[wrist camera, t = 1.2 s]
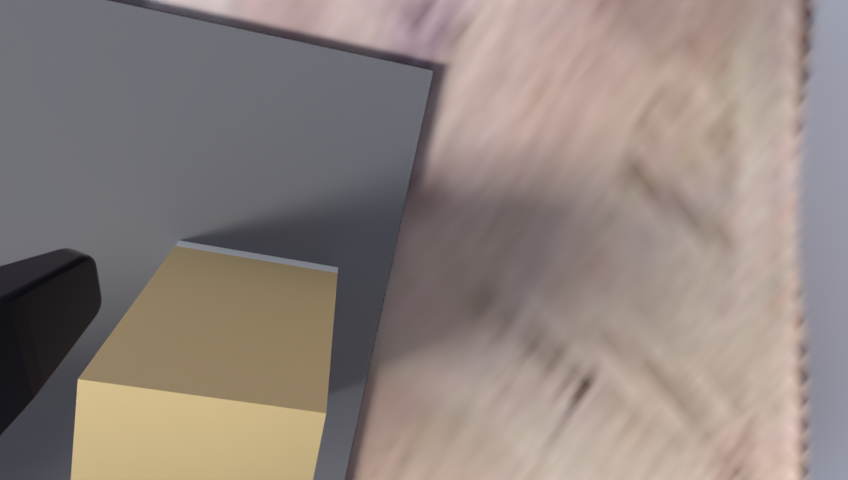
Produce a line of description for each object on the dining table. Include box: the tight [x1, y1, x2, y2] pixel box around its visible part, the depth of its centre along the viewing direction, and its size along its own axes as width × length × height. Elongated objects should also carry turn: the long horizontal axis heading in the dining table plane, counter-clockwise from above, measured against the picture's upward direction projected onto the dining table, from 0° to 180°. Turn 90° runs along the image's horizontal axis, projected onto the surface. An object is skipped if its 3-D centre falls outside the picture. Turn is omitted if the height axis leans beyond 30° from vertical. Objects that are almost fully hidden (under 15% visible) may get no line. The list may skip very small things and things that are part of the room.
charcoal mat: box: [0, 0, 433, 480], centre depth 27 cm, size 22×22×1 cm
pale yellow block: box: [71, 240, 338, 480], centre depth 23 cm, size 6×6×10 cm
